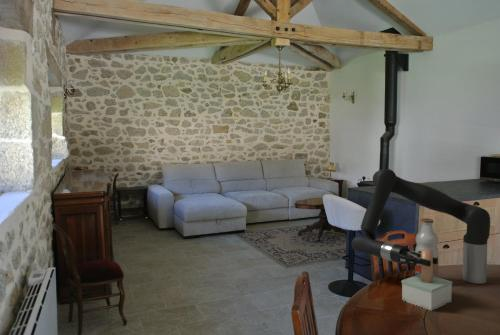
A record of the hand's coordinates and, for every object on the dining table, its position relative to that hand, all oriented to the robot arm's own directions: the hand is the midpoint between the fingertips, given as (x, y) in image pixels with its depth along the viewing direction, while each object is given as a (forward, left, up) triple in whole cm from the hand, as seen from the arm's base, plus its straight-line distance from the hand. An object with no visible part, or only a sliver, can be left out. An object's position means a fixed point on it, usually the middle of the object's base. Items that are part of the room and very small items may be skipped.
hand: (433, 262), depth 147 cm
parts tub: (0, -3, -16) cm, 16 cm away
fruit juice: (-20, -15, -16) cm, 30 cm away
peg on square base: (0, -3, -11) cm, 11 cm away
